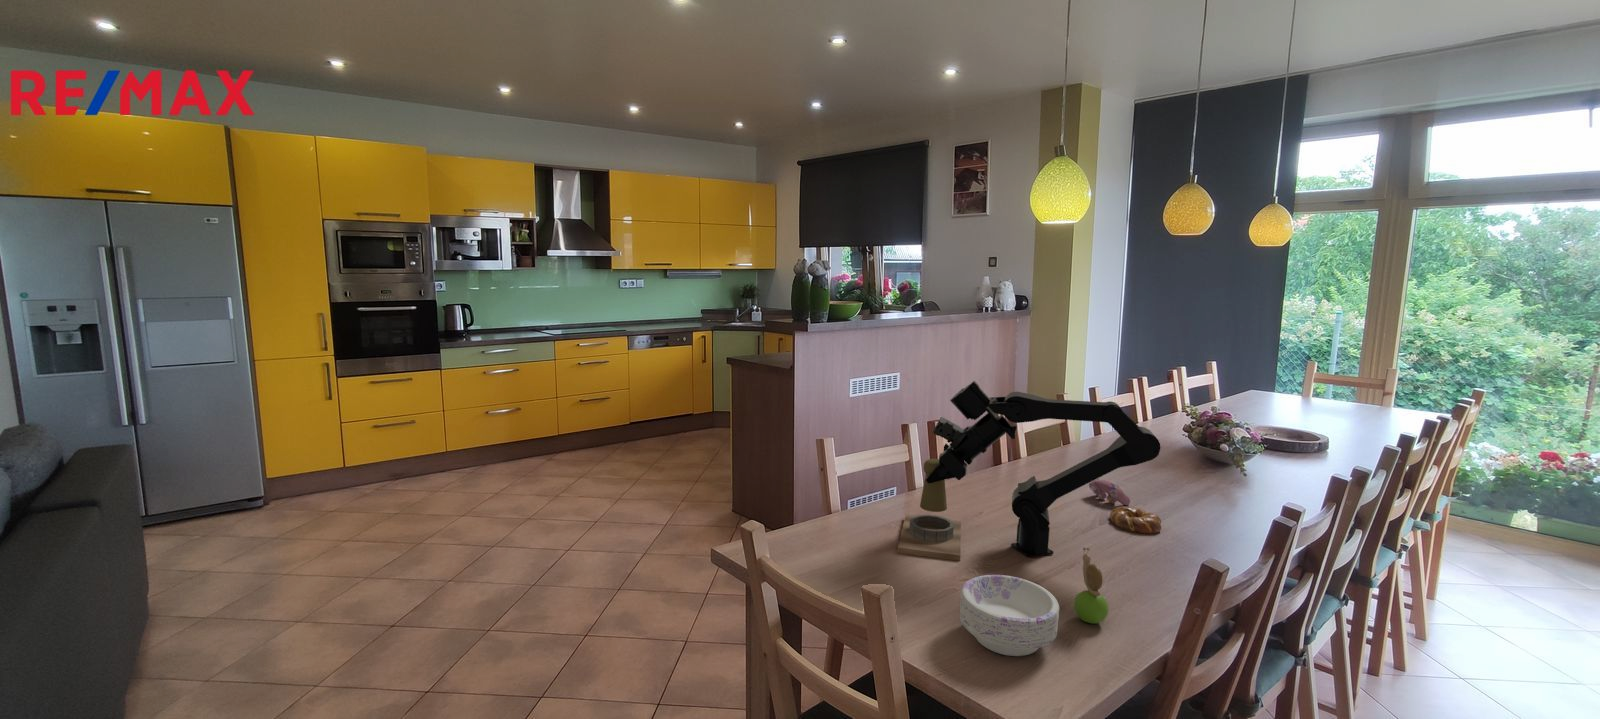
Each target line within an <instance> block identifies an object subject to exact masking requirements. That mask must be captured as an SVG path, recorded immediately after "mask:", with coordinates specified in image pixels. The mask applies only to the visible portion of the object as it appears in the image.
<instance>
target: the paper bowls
mask: <svg viewBox="0 0 1600 719" xmlns="http://www.w3.org/2000/svg"><path fill="white" fill-rule="evenodd" d="M960 590H961V591H960V605H959V606H960V608H959V610H960V611H959V620H960V622H961V623H962V626H963V627H964V628H965V630H967V631H968V632H969V633H970V634H971V635H972V636H974V638H975V639H976V640H977V642H978V643H979V644H980V645H982V646H983V647H985V648H986V649H988V650H990V651H992V652H994V653H997V654H999V655H1003V656H1010V657H1023V656H1028V655H1032V654H1034V653H1035V652H1037V651H1038V649H1040V648H1043V647H1045V646H1047V645H1049V644H1051V643H1052V642H1053V641H1054V640H1055V639H1056V638H1057V634H1058V625H1059V615H1060V604H1059V602H1058V600H1057V598H1056V597H1055V596H1054V595H1053V594H1052V593H1051V592H1050V591H1049V590H1047V589H1046V588H1045V587H1043V586H1041V585H1039V584H1037V583H1035V582H1033V581H1030V580H1028V579H1025V578H1020V577H1018V576H1017V577H1016V576H1012V575H1006V574H1005V575H1003V574H985V575H979V576H976V577H972V578H970V579H968V580H967V581H966V582H964V584H963V585H962V587H961V589H960Z"/></svg>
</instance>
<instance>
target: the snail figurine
mask: <svg viewBox="0 0 1600 719" xmlns="http://www.w3.org/2000/svg"><path fill="white" fill-rule="evenodd" d="M1090 550H1091V549H1090V547H1083V548H1082V551H1083V552H1085V551H1087V552H1089V551H1090ZM1091 560H1092V558H1091V556H1090V555H1089V553H1083V555H1082V561H1083V563H1082V564H1083V565H1082V574H1083V581H1084V584H1085V587H1086V590H1082V591H1081V592H1079V593H1078V594H1077V595H1076V596H1075V599H1074V602H1073V606H1074V611H1075V613H1076V615H1077V617H1079V618H1080V620H1082V621H1083V622H1084V623H1085V622H1086V623H1088V624H1095V625H1096V624H1099V623H1101V622H1103V621H1105V619H1106V618H1107V617H1108V614H1109V605H1108V601H1107V600H1106V598H1105V597H1104V596H1103V595H1102V593H1101V592H1100V589H1101V588H1102V585H1103V573H1102V570H1101V568H1100V566H1098V565H1097V564H1095V563H1091Z"/></svg>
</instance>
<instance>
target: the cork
mask: <svg viewBox="0 0 1600 719" xmlns="http://www.w3.org/2000/svg"><path fill="white" fill-rule="evenodd" d="M938 464H939V458H929V459H926V460H925V462H924V463H923V472H924V473H925V476H924V482H923V487H922V493H921V497H920V503H919V508H921V509H922V510H924V511H927V512H931V513H940V512H944V511H947V509H948V504H947V502H948V501H947V492H946V491H947V490H946V480H941V481H937V482H933V483H928V482H927V481H926V479H927V477H928V476H929V475H930V474H931V473H932V471H933V470H934V469H935V468H936V467H937V465H938Z"/></svg>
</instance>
